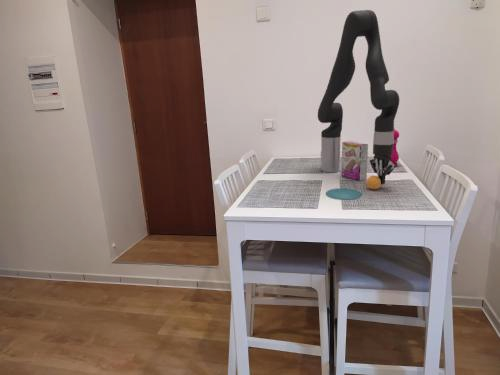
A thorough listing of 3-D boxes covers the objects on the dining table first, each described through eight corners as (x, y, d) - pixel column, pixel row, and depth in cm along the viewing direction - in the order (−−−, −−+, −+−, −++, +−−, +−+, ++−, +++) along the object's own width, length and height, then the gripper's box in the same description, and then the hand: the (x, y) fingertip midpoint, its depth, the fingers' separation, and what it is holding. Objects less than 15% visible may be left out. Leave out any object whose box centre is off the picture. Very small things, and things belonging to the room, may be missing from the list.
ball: (366, 189, 141) (361, 179, 138) (376, 181, 141) (372, 171, 139) (374, 193, 136) (370, 183, 133) (385, 186, 136) (381, 175, 134)
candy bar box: (340, 176, 159) (341, 141, 154) (348, 174, 161) (349, 140, 157) (359, 181, 150) (360, 144, 145) (367, 179, 152) (368, 143, 147)
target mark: (319, 191, 139) (319, 191, 139) (348, 186, 143) (348, 186, 143) (337, 201, 126) (337, 201, 126) (369, 196, 130) (369, 195, 130)
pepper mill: (399, 167, 167) (402, 127, 162) (384, 168, 169) (386, 127, 163) (396, 164, 174) (399, 125, 168) (381, 164, 176) (384, 126, 170)
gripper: (364, 141, 138) (363, 181, 143) (387, 145, 126) (385, 189, 132) (379, 139, 141) (377, 179, 146) (403, 143, 129) (400, 186, 134)
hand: (381, 184), depth 139 cm, fingers closed
